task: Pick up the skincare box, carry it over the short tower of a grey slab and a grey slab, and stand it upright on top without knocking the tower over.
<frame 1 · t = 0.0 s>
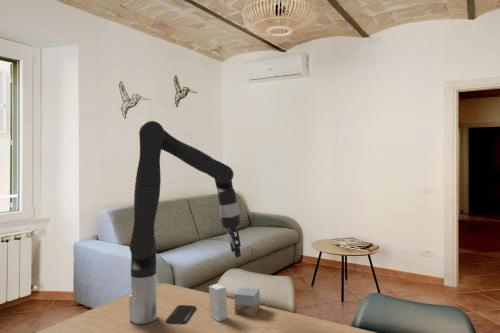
hand: (236, 254, 147), 22 cm above the table, tool pointing down, fingers open, 8 cm apart
tower bottom: (247, 311, 146), on the table, touching tower top
skincare box: (218, 318, 139), on the table
tower top: (247, 301, 145), point 4 cm above the table, touching tower bottom
phone: (181, 316, 142), on the table
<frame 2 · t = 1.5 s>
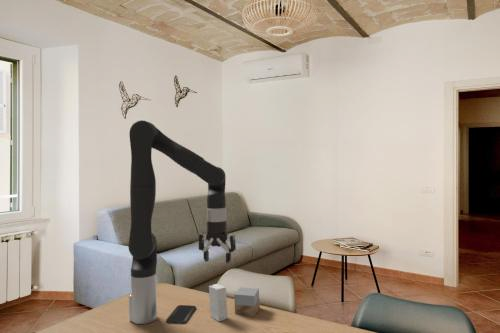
hand: (217, 261, 139), 21 cm above the table, tool pointing down, fingers open, 8 cm apart
nothing on the table moved.
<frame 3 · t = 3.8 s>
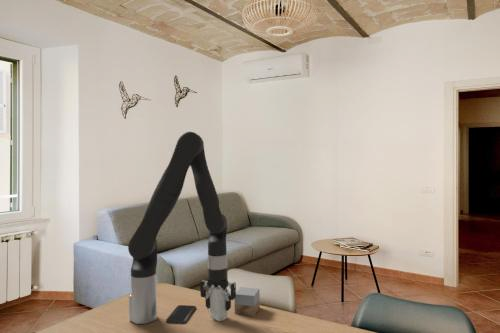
hand: (218, 308, 139), 3 cm above the table, tool pointing down, fingers closed on skincare box, 7 cm apart
skincare box: (218, 318, 139), on the table, touching gripper
everything else where it was.
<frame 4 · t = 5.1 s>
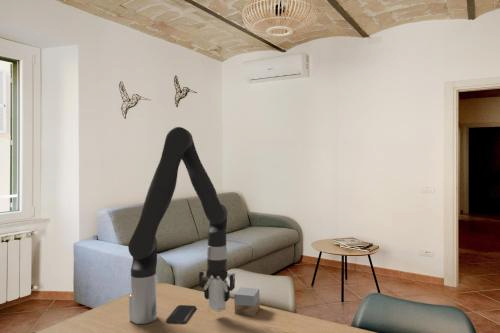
hand: (216, 299, 139), 7 cm above the table, tool pointing down, fingers closed on skincare box, 7 cm apart
skincare box: (216, 309, 139), point 3 cm above the table, touching gripper
everything else where it was.
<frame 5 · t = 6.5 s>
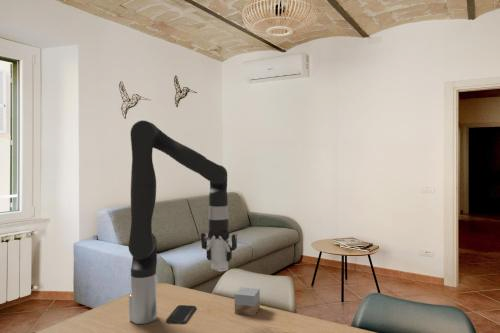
hand: (219, 260, 139), 22 cm above the table, tool pointing down, fingers closed on skincare box, 7 cm apart
skincare box: (219, 269, 139), point 18 cm above the table, touching gripper
everything else where it was.
when the fingers open (13 cm above the table, at t = 10.3 s): skincare box drops 2 cm, resting on tower top.
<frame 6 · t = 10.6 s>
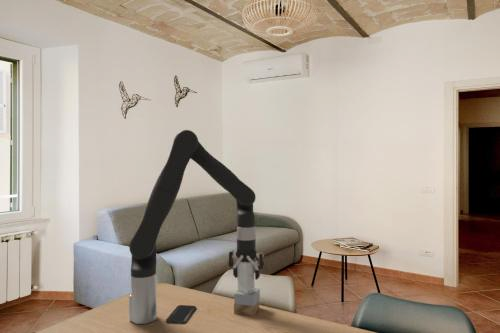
hand: (246, 278, 145), 13 cm above the table, tool pointing down, fingers open, 8 cm apart
skincare box: (245, 291, 146), point 8 cm above the table, touching gripper, tower top
tower top: (247, 301, 146), point 4 cm above the table, touching skincare box, tower bottom
everything else where it was.
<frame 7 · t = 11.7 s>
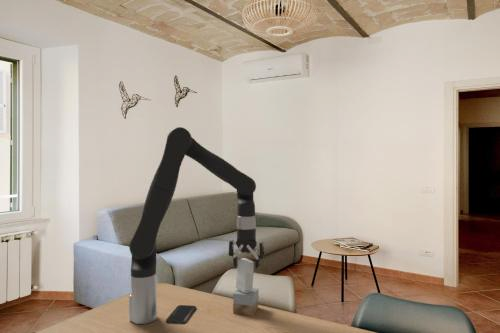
hand: (246, 267, 145), 17 cm above the table, tool pointing down, fingers open, 8 cm apart
skincare box: (243, 290, 146), point 8 cm above the table, touching tower top
everything else where it was.
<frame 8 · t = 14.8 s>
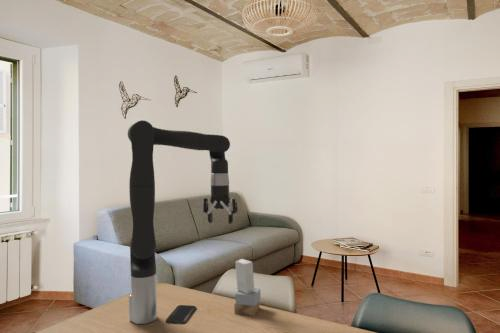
hand: (220, 223, 151), 34 cm above the table, tool pointing down, fingers open, 8 cm apart
tower bottom: (247, 311, 146), on the table
tower top: (248, 301, 146), point 4 cm above the table, touching skincare box
at the end: skincare box 0.7 cm off-centre on the tower bottom, point 7.9 cm above the tower bottom's base; skincare box tilted 3°; tower top 0.4 cm from the tower bottom (horizontally) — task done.
